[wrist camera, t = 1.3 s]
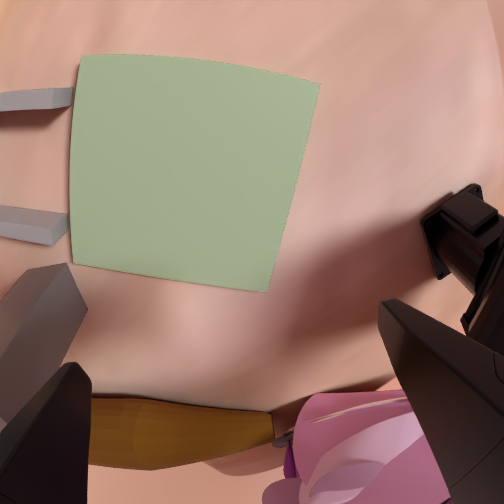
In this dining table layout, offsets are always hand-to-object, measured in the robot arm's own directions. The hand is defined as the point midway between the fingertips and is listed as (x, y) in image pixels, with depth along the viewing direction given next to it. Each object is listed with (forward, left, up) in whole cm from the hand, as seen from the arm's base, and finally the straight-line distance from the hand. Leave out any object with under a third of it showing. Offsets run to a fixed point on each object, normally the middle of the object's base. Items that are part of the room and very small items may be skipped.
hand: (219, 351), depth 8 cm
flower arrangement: (-34, 0, -13) cm, 37 cm away
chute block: (+2, +16, -13) cm, 20 cm away
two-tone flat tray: (+6, +5, -13) cm, 15 cm away
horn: (-15, +20, -13) cm, 28 cm away
